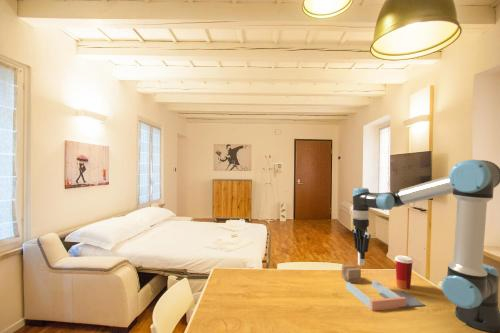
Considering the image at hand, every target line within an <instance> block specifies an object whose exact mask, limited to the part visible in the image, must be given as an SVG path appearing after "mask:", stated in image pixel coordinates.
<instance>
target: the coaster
mask: <svg viewBox="0 0 500 333" xmlns="http://www.w3.org/2000/svg"><path fill="white" fill-rule="evenodd" d="M393 292H394V293H395V294H397V295H399V296H400V297H405V298H406V306H404V307H403V308H402V307H399V308H398V309H405V308H416V307H417V308H418V307H424V306H425V303H423V302H421V301H420V300H418V299H417V298H415V297H413V296H411V295H410V294H409V293H407V292H406V291H404V290H403V291H393ZM379 296H381V297H382V298H383V299H385V298H389V297H388V296H386V295H385V294H384V293H380V292H379Z"/></svg>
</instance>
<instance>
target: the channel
mask: <svg viewBox="0 0 500 333" xmlns="http://www.w3.org/2000/svg"><path fill="white" fill-rule="evenodd" d="M371 287H372V288H374V290H376V291H377V292H379V294H380V293H384V294H385V295H386V296H388V297H389V298H378V299H377V298H375V299H372V298H370V297H369V296H368V295H367V294H365V292H363V291H362V290H360V289H359V288H357V287H356V286H355V285H354V284H353V283H350V282H345V290H347V291H348V292H349V293H350V294H352V295H353V296H354V297H355V298H357V299H358V301H360V302H361V303H362V304H364V305H365V306H366V307H367V308H368V309H370V310H371V311H373V312H374V311H385V310H394V309H400V308H399V307H402V308H401V309H404V308H403V307H404V306H406V298H405V297H400V296H399V295H397V294H395V293H394V292H395V291H392V290H391V289H389V288H388V287H387V286H385V285H383V283H382V284H381V283H380V282H379V281H377V280H371Z"/></svg>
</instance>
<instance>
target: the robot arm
mask: <svg viewBox="0 0 500 333" xmlns="http://www.w3.org/2000/svg"><path fill="white" fill-rule="evenodd" d="M498 185H500V166H498V165H497V164H496V163H494V162H492V161H490V160H483V159H482V160H481V159H466V160H463V161H460V162H458V163H455V165H454V166H453V167H452V168H451V169H450V170H449V175H447V176H443V177H440V178H436V179H433V180H429V181H425V182H422V183H419V184H418V183H417V184H415V185H413V186H409V187H405V188H401V189H398V190H394V191H389V192H370V191H369V188H367V187H354V188H353V190H352V217H353V218H352V225H353V226H354V229H351V231H352V232H351V233H352V235H353V244H354V249H355V250H356V251H357V265H358V266H365V258H366V257H365V255H366V254H365V253H368V251H369V243H370V239H371V234H369V232H368V227H369V226H370V220H369V218H370V215H369V213H370V209H377V210H382V211H384V210H385V211H387V210H388V211H391V210H392V209H393V208H400V207H402V206H404V205H409V204H412V203H413V204H414V203H417V202H421V201H426V200H429V199H434V198H438V197H442V196H447V195H450V194H452V196H453V197H454V198H455V199H456V214H455V229H454V242H453V243H454V245H453V260H452V261H451V262H449V263H448V264H447V274H446V277H444V278H443V280H442V282H441V289H442V292H443V294H444V296H445V297H446V298H447V300H448V301H450V303H452V304H454V305H455V306H456V307H455V309H454V311H455V312H454V313H455V314H454V315H455V317H456V318H457V319H458V321H459V320H460V321H461V322H462V323H464V324H466V325H467V326H469V327H472V328H474V329H477V330H480V331H484V332H491V333H498V332H500V309H499V308H500V307H499V278H500V276H499V269H497V268H496V267H495V266H492V265H488V264H485V263H483V262H484V249H485V248H484V247H485V235H486V234H485V233H486V223H487V222H486V221H487V220H486V219H487V206H488V202H490V201H492V200H493V198H494V188H496V187H498Z"/></svg>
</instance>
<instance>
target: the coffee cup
mask: <svg viewBox="0 0 500 333" xmlns="http://www.w3.org/2000/svg"><path fill="white" fill-rule="evenodd" d="M394 261H395V278H396V287H397V288H399V289H402V290H410V289H411V285H412V272H413V263H414V261H413V258H412V257H410V256H407V255H396V256H395V257H394Z"/></svg>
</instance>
